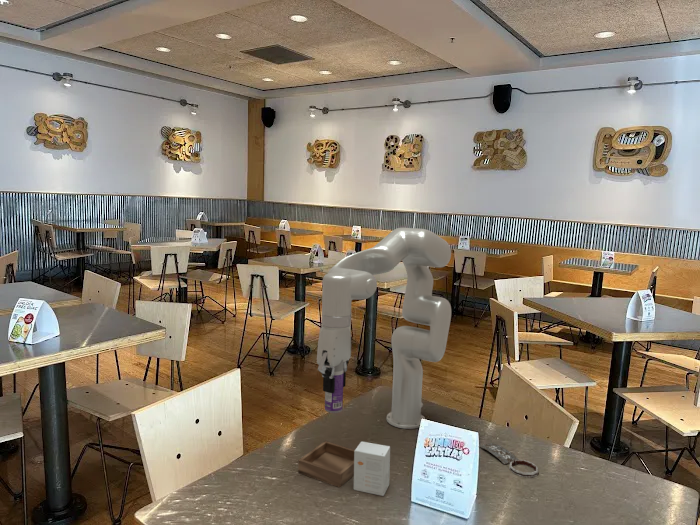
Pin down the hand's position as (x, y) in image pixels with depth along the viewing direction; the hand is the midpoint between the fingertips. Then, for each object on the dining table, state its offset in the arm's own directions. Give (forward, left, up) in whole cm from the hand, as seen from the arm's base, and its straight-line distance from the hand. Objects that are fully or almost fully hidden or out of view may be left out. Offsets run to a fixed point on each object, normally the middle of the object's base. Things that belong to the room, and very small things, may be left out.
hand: (334, 388), depth 136 cm
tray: (0, 0, -23) cm, 23 cm away
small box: (+2, +13, -23) cm, 26 cm away
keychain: (-32, +39, -23) cm, 56 cm away
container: (0, 0, -6) cm, 6 cm away
